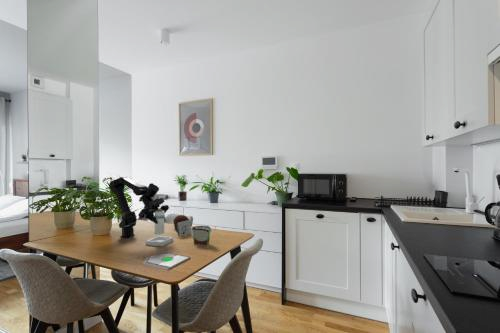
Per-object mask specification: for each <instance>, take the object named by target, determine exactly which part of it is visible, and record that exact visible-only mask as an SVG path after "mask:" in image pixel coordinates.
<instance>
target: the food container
mask: <svg viewBox="0 0 500 333" xmlns="http://www.w3.org/2000/svg"><path fill="white" fill-rule="evenodd" d="M191 230H193V237H192V238H193V245H197V246H203V247H209V245H210V237H211V232H212V228H211V227H210V226H209V225H195V226H192V227H191Z"/></svg>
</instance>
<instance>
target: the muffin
mask: <svg viewBox="0 0 500 333" xmlns="http://www.w3.org/2000/svg"><path fill="white" fill-rule="evenodd" d="M172 221H173V227H174V230H175V231H177V226H176V224H178V223H179V222H183V221H190V219H189V217H188V216H187V215H184V214H179V215H177V216H175V217H174V218H173V220H172ZM178 230H179V228H178Z"/></svg>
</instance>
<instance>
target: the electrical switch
mask: <svg viewBox="0 0 500 333" xmlns="http://www.w3.org/2000/svg"><path fill="white" fill-rule="evenodd" d="M176 226H177V230H176V231H177V236H178V237H180V238H182V237H186V236H190V235H192V224H191V220H189V221H183V222H179V223H178V224H176ZM178 228H179V230H178Z"/></svg>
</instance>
